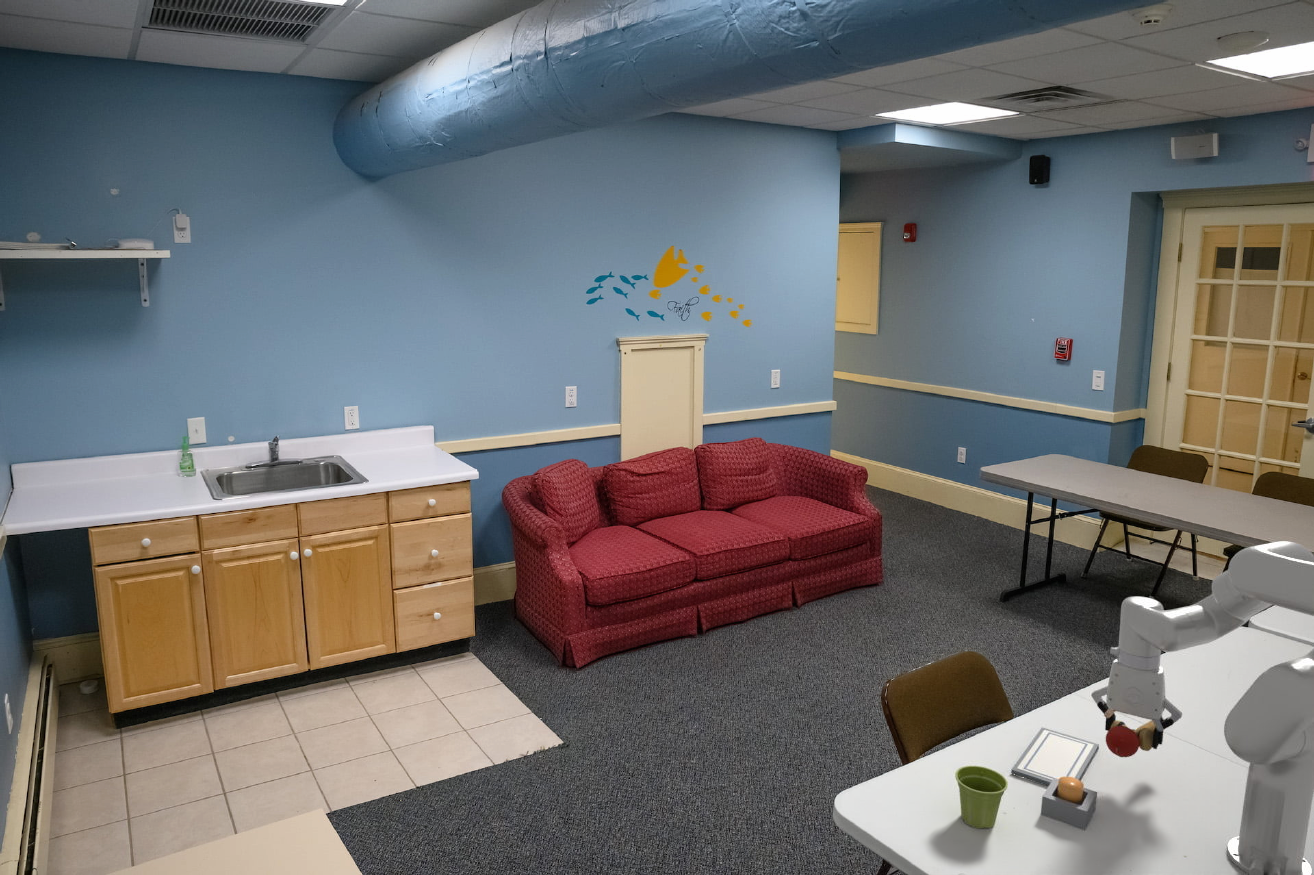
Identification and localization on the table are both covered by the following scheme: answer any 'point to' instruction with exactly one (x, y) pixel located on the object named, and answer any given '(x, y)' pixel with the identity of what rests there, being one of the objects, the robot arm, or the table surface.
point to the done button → (1070, 789)
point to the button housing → (1068, 807)
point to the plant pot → (980, 794)
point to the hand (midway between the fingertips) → (1133, 739)
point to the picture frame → (1054, 757)
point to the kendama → (1129, 738)
